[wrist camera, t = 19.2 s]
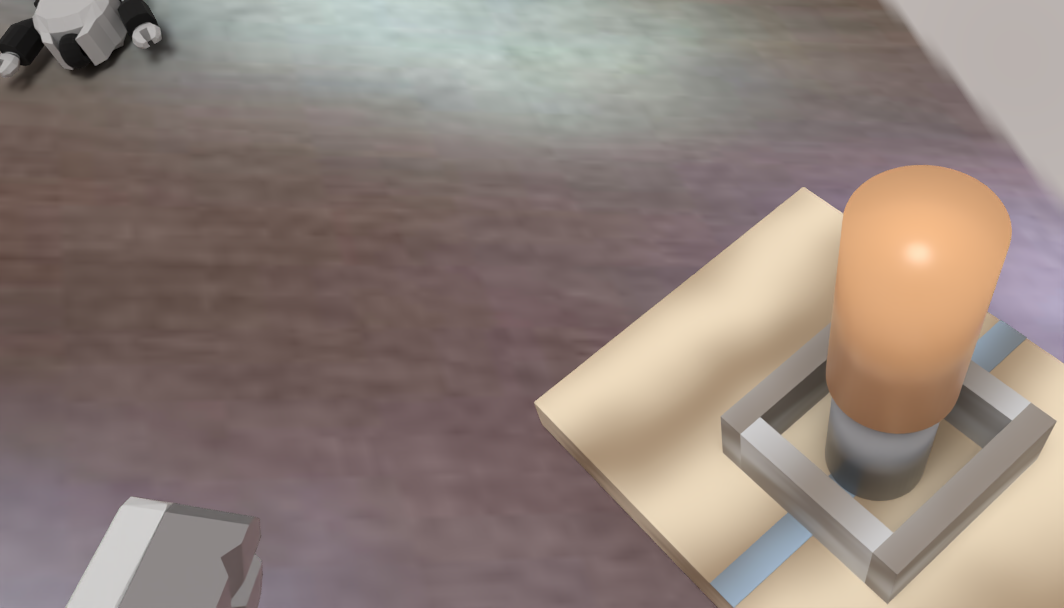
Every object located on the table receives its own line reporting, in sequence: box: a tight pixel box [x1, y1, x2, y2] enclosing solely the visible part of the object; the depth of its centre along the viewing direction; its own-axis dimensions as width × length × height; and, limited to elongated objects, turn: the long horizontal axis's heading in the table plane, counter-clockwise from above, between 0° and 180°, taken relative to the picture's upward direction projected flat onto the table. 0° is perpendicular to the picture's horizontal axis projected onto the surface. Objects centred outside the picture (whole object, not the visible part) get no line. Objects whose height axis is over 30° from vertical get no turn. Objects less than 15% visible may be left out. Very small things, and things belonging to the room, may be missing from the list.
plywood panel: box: [534, 187, 1064, 608], centre depth 37 cm, size 22×16×5 cm
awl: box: [825, 165, 1012, 501], centre depth 32 cm, size 4×4×14 cm
